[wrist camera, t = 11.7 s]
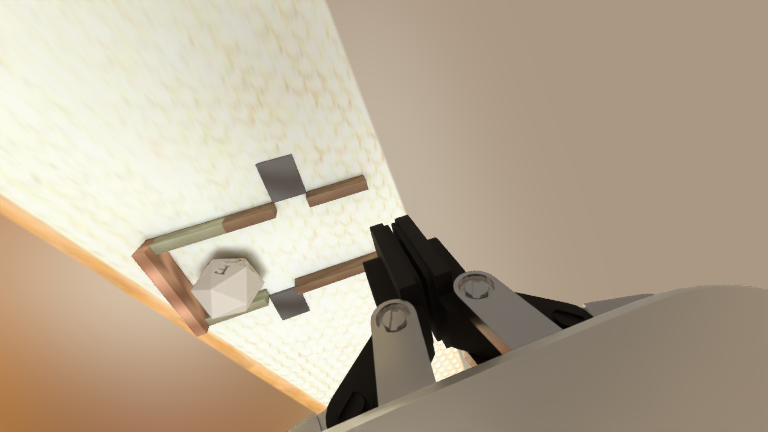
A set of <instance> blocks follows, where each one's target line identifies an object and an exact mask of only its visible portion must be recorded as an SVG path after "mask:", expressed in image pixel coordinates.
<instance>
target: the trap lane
mask: <svg viewBox="0 0 768 432" xmlns="http://www.w3.org/2000/svg"><path fill="white" fill-rule="evenodd" d="M256 167H257V169H258V171H259V174H260V176H261V178H262V180H263V182H264V185H265V187H266V189H267V191H268V193H269V196H270V198H271V200H272V203H268V204H265V205H262V206H258V207H255V208H252V209H249V210H245V211H242V212H239V213H235V214H232V215H229V216H225V217H222V218H219V219H215V220H212V221H209V222H205V223H202V224H199V225H195V226H192V227H189V228H185V229H182V230H179V231H175V232H172V233H169V234H165V235H162V236H159V237H155V238H152V239H149V240H146V241H145V242H144V243H143V244H142V245H141V246H140V247H139V248H138V249H137V250H136V251H135V253H134V254H133V255H132V257H133V259H134V260H135V261H136V262H137V264H138V265H139V266H140V267H141V269H142V270H143V271H144V272H145V273H146V275H147V276H148V277H149V278H150V280H151V281H152V282H153V283H154V285H155V286H156V287H157V288H158V289H159V291H160V292H161V293H162V294H163V296H164V297H165V298H166V299H167V301H168V302H169V303H170V304H171V305H172V307H173V308H174V309H175V310H176V312H177V313H178V314H179V315H180V317H181V318H182V319H183V320H184V321H185V323H186V324H187V325H188V326H189V328H190V329H191V330H192V331H193V333H194V334H195V335H196V336H200V335H203V334H206V333H207V331H208V328H209V326H210V325H213V324H216V323H219V322H222V321H225V320H228V319H231V318H233V317H236V316H239V315H242V314H245V313H248V312H251V311H254V310H256V309H259V308H262V307H265V306H268V303H269V297H270V299H271V301H272V302H273V304H274V306H275V308H276V309H277V311H278V313H279V315H280V317H281V318H282V320H285V319H288V318H291V317H294V316H297V315H299V314H302V313H305V312H308V311H310V309H309V307H308V305H307V303H306V301H305V299H304V297H303V295H302V293H305V292H308V291H311V290H314V289H317V288H320V287H323V286H325V285H328V284H331V283H334V282H337V281H340V280H343V279H346V278H348V277H351V276H354V275H357V274H360V273H363V272H365V270H364V266H363V263H362V262H365V261H367V260H370V259H373V258H376V257H378V256H377V253H376V252H373V253H370V254H368V255H365V256H362V257H359V258H356V259H353V260H350V261H347V262H344V263H341V264H338V265H335V266H332V267H329V268H326V269H323V270H320V271H317V272H315V273H312V274H309V275H306V276H303V277H300V278H297V279H295V287H292V288H289V289H286V290H284V291H281V292H278V293H275V294H272V295H269V293H268V292H267V290H266V289H264V290H262V291H259V292H258V293H257V295H256V297H255V298H254V300H253V301H252V303H251V304H250V306H249V307H248V309H247V311H245V312H241V313H236V314H232V315H227V316H223V317H218V318H214V319H212V318H211V317H210V315H209V314H208V313H207V311H206V310H205V309H204V307H203V306H202V305H201V304H200V302H199V301H198V300H197V298H196V297H195V296H194V295H193V293H192V292H191V289H192V288H193V286H192V284H191V283H190V282H189V280H188V279H187V278H186V276H185V275H184V273H183V272H182V271H181V269H180V268H179V267H178V265H177V264H176V262H175V261H174V260H173V258H172V257H171V256H170V254H169V253H168V251H170V250H173V249H177V248H180V247H183V246H186V245H190V244H193V243H196V242H199V241H203V240H206V239H209V238H212V237H216V236H219V235H222V234H225V233H229V232H232V231H235V230H238V229H242V228H245V227H248V226H251V225H254V224H258V223H261V222H264V221H267V220H271V219H274V218H276V214H277V210H276V207H275V205H274V203H275V202H278V201H282V200H285V199H288V198H292V197H295V196H298V195H302V194H305V193H306V199H307V201H308V204H309V206H310V207H313V206H316V205H319V204H323V203H326V202H329V201H332V200H336V199H339V198H342V197H345V196H349V195H352V194H355V193H358V192H361V191H365V190H368V186H367V182H366V179H365V178H364V176H363V175H362V176H358V177H355V178H352V179H348V180H345V181H342V182H338V183H335V184H332V185H328V186H325V187H322V188H318V189H315V190H312V191H308V192H306V191H305V188H304V186H303V183H302V180H301V178H300V175H299V173H298V170H297V167H296V165H295V162H294V159H293V157H292V154H291V155H287V156H284V157H280V158H276V159H273V160H269V161H266V162H262V163H259V164H256Z"/></svg>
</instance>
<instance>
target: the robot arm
mask: <svg viewBox="0 0 768 432" xmlns="http://www.w3.org/2000/svg"><path fill="white" fill-rule="evenodd" d="M391 225H392V230H393V232H392V231H391V229H390V227H389V226H388V225H386V226H384V225H383V224H382V223H381V224H378V225H375V226H372V227H370V231H371V235H372V238H373V242H374V245H375V249H376V253H377V256H378V257H376V258H373V259H370V260H367V261H365V262H362V263H363V266H364V270H365V273H366V276H367V279H368V282H369V285H370V288H371V291H372V294H373V297H374V300H375V303H376V306H377V308H376V309H375V310H374V312H373V314H372V316H371V331H372V335H371V337H370V339H369V340H368V342H367V343H366V345H365V347H364V348H363V350H362V351H361V353H360V354H359V356H358V358H357V359H356V361H355V362H354V364H353V365H352V367H351V369H350V370H349V372H348V373H347V375H346V377H345V378H344V380H343V381H342V383H341V384H340V386H339V388H338V389H337V391H336V392H335V394H334V395H333V397H332V399H331V401H330V403H329V405H328V407H327V409H326V410H325V411H323V412H322V413H320V414H319V415H317V414H316V413H313V414H312V415H310V416H309V417H307V418H306V419H305V420H303V421H302V422H300V423H299V424H297V425H296V426H294V427H293V428H291V429H290V430H288V431H287V432H768V290H767V289H762V288H757V287H752V286H742V285H704V286H695V287H688V288H681V289H676V290H672V291H667V292H664V293H659V294H656V295H655V294H639V295H634V296H627V297H621V298H615V299H609V300H602V301H596V302H590V303H584V304H583V307H582V308H580V307H578V306H576V305H573V304H569V303H565V302H560V301H555V300H550V299H545V298H541V297H536V296H531V295H526V294H521V293H516V292H513V291H512V290H511V289H509V288H508V287H507V286H506V285H504V284H503V283H502V282H500V281H499V280H498V279H497V278H495V277H494V276H492V275H491V274H489V273H486V272H482V271H468V272H465V270H464V269H463V268H462V267H461V266H460V264H459V263H458V262H457V261H456V260H455V259H454V257H453V256H452V255H451V254H450V253H449V252H448V250H447V249H446V248H445V247H444V246H443V245H442V243H441V242H440V241H439V240H438V239H437V238H432V239H429V240H427V239H426V237H425V236H424V235H423V234H422V232H421V231H420V230H419V228H418V227H417V226H416V225H415V223H414V222H413V221H412V220H411V218H410V217H409V216H408V215H405V216H402V217H399V218H396V219H395V223H392V224H391ZM431 330H432V331H431ZM432 332H433V334H434V336H435V338H436V340H437V341H441V340H442V341H443V343H444V344H445V346H446V348H449V347H454V348H457V349H460V350H462V354H463V356H464V357H465V359H466V360H467V361H468V363H469V364H470V365H471V366H472V368H470V369H467V370H465V371H462V372H460V373H457V374H455V375H453V376H450V377H448V378H445V379H443V380H441V381H438V382H436V381H435V377H434V374H433V370H432V367H431V362H432V360H433V357H434V355H435V351H434V346H433V343H434V341H433V336H432Z"/></svg>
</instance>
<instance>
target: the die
mask: <svg viewBox="0 0 768 432" xmlns="http://www.w3.org/2000/svg"><path fill="white" fill-rule="evenodd" d="M263 284H264V281H263V280H262V278H261V277H260V276H259V275H258V273H257V272H256V271H255V270H254V268H253V267H252V266H251V265H250V264H249V262H248V261H247V260H246V259H245V258H229V259H212V260H211V261H210V263H209V264H208V266H207V267H206V269H205V270H204V272H203V273H202V275H201V276H200V278H199V279H198V281H197V282H196V284H195V285H194V286H193V288H192V289H191V292H192V293H193V295H194V296H195V297H196V298H197V300H198V301H199V302H200V304H201V305H202V306H203V307H204V309H205V310H206V311H207V313H208V314H209V315H210V317H211V318H212V319H214V318H218V317H223V316H227V315H232V314H236V313H241V312H245V311H247V309H248V307H249V306H250V304H251V303H252V301H253V300H254V298H255V297H256V295H257V293H258V292H259V290H260V289H261V287H262V286H263Z"/></svg>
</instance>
